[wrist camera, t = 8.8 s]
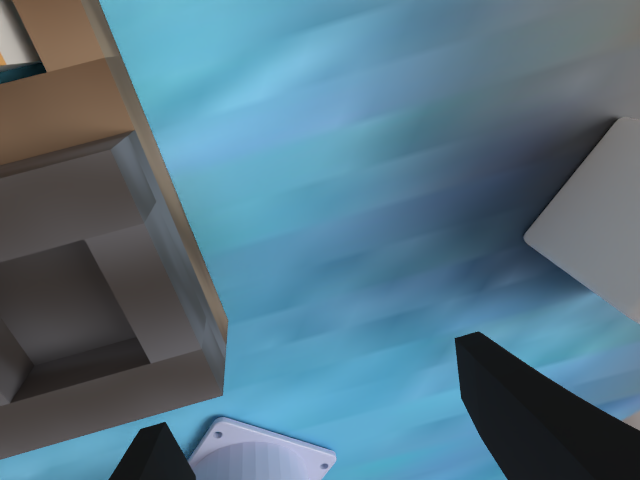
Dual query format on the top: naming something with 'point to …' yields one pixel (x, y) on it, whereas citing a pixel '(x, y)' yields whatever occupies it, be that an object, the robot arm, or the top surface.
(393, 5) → the top surface
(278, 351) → the top surface
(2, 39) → the plug
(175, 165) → the top surface
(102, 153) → the wooden base
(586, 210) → the medicine bottle
